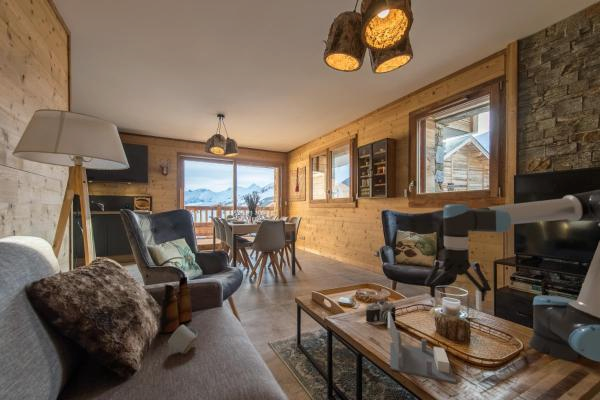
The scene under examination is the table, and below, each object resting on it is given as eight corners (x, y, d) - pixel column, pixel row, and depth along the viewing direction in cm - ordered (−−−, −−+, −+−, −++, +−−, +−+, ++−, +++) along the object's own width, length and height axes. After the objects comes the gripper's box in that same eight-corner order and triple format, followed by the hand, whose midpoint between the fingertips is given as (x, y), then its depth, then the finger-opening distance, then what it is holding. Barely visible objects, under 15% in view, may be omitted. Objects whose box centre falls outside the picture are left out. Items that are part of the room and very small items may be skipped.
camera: (372, 328, 118) (372, 306, 118) (363, 319, 126) (363, 299, 126) (402, 324, 122) (402, 303, 122) (391, 316, 130) (391, 296, 130)
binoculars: (181, 313, 132) (181, 274, 132) (195, 315, 130) (195, 275, 130) (154, 331, 114) (154, 286, 114) (170, 333, 112) (171, 288, 112)
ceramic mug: (182, 359, 97) (186, 349, 93) (165, 346, 98) (169, 335, 94) (201, 336, 106) (206, 326, 102) (186, 324, 107) (189, 314, 103)
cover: (390, 311, 104) (388, 311, 104) (390, 327, 91) (387, 327, 91) (398, 334, 103) (396, 334, 103) (399, 353, 89) (397, 354, 90)
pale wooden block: (443, 357, 95) (443, 348, 95) (449, 372, 87) (449, 362, 87) (433, 355, 96) (433, 346, 96) (437, 370, 88) (437, 360, 88)
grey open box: (445, 353, 98) (445, 338, 98) (456, 383, 82) (456, 364, 82) (390, 343, 105) (390, 329, 105) (390, 369, 89) (390, 352, 89)
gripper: (491, 247, 91) (492, 307, 91) (415, 244, 97) (416, 300, 97) (502, 251, 84) (503, 316, 84) (419, 248, 90) (420, 308, 90)
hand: (456, 308), depth 90 cm, fingers open, 13 cm apart
